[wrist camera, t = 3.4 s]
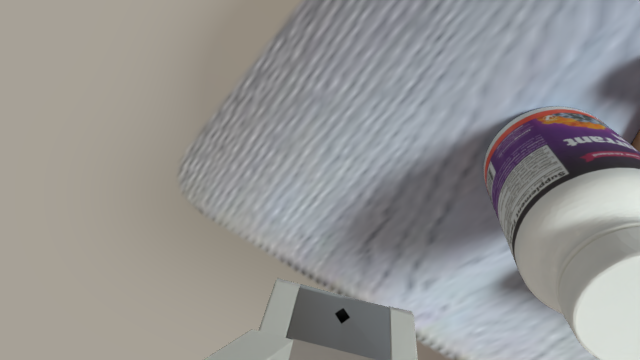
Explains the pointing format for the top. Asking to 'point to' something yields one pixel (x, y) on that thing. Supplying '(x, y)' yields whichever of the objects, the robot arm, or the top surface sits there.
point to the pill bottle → (573, 221)
